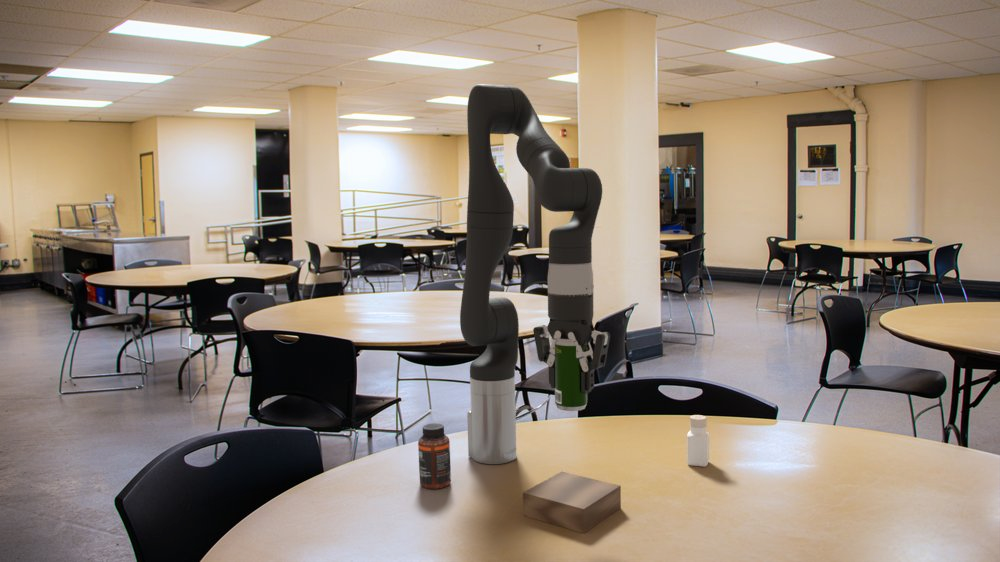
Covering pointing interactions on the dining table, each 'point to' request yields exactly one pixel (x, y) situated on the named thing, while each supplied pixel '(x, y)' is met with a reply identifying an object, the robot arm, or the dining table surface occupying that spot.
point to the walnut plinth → (572, 501)
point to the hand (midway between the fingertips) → (571, 389)
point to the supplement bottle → (434, 457)
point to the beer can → (568, 376)
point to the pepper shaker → (698, 442)
